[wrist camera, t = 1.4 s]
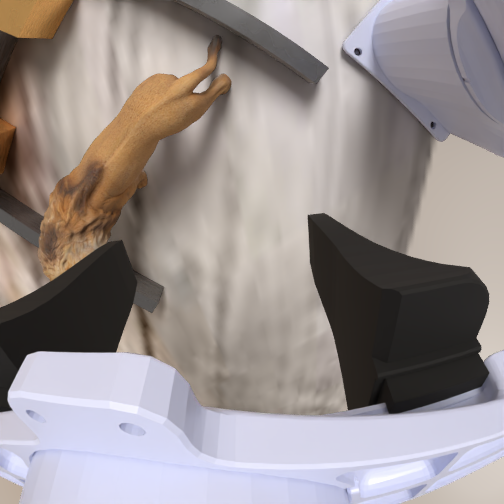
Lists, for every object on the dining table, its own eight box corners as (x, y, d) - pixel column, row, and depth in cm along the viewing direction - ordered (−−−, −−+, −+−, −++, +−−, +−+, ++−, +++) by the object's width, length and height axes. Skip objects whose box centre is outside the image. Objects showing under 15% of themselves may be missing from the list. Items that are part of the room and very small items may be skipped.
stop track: (321, 68, 17) (338, 67, 13) (157, 296, 25) (146, 331, 22) (58, -57, 10) (29, -71, 7) (-36, 176, 19) (-65, 194, 15)
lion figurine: (135, 238, 23) (90, 324, 15) (76, 202, 21) (8, 272, 13) (255, 58, 17) (262, 45, 9) (181, 15, 15) (133, -24, 7)
